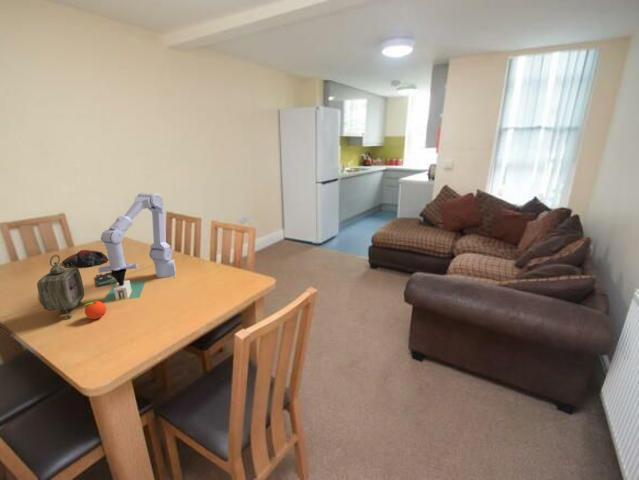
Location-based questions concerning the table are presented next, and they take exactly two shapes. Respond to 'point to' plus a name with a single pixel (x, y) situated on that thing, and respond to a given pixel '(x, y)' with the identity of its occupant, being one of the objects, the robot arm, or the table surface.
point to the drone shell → (85, 259)
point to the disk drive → (105, 279)
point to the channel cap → (125, 288)
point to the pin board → (135, 292)
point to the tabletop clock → (61, 288)
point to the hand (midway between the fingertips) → (121, 284)
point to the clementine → (95, 310)
